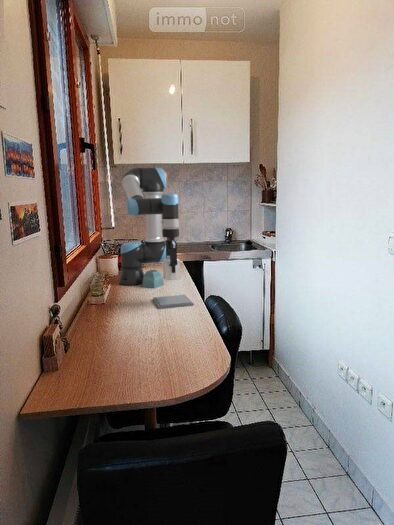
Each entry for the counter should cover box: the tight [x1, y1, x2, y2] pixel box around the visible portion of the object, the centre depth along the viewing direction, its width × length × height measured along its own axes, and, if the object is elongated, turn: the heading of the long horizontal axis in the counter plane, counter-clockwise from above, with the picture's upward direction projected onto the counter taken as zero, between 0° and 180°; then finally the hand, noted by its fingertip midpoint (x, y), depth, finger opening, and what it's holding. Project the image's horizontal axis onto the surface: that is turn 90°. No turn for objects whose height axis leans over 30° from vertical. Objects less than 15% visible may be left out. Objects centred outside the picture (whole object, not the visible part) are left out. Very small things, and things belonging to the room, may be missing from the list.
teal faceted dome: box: [142, 269, 164, 290], centre depth 209 cm, size 9×9×9 cm
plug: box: [162, 256, 181, 281], centre depth 175 cm, size 5×7×11 cm
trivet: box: [152, 294, 194, 310], centre depth 177 cm, size 16×16×1 cm
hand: (171, 278), depth 175 cm, fingers closed on plug, 5 cm apart
